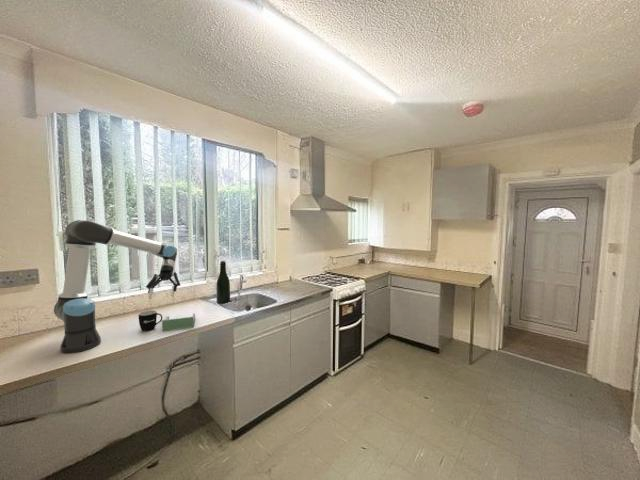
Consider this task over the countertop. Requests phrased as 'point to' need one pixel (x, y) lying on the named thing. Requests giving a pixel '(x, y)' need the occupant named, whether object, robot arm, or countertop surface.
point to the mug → (148, 320)
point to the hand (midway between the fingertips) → (160, 297)
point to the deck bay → (178, 323)
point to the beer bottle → (223, 285)
